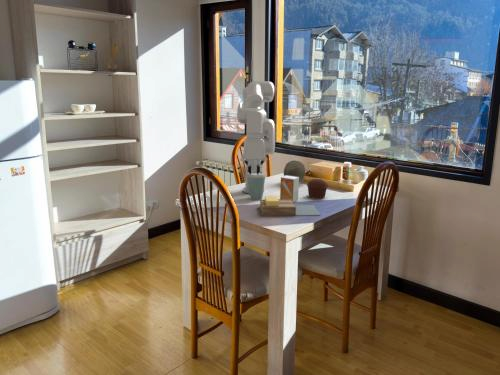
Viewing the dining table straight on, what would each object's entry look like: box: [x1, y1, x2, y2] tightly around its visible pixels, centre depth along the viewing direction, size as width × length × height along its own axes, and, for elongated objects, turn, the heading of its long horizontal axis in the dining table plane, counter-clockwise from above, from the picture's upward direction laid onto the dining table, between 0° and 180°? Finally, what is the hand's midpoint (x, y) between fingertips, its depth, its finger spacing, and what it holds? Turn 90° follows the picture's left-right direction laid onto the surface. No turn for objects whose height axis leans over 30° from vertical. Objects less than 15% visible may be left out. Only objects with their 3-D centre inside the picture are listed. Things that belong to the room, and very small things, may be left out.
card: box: [264, 195, 279, 206], centre depth 206 cm, size 9×6×2 cm, turn 4°
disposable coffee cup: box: [245, 170, 267, 201], centre depth 227 cm, size 11×11×15 cm
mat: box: [294, 204, 321, 217], centre depth 208 cm, size 16×12×1 cm
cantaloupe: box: [283, 160, 306, 183], centre depth 260 cm, size 14×14×15 cm
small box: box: [279, 175, 300, 203], centre depth 225 cm, size 8×6×13 cm
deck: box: [259, 198, 296, 217], centre depth 207 cm, size 14×16×4 cm
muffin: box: [306, 178, 329, 200], centre depth 233 cm, size 12×11×10 cm
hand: (253, 173), depth 202 cm, fingers open, 3 cm apart
